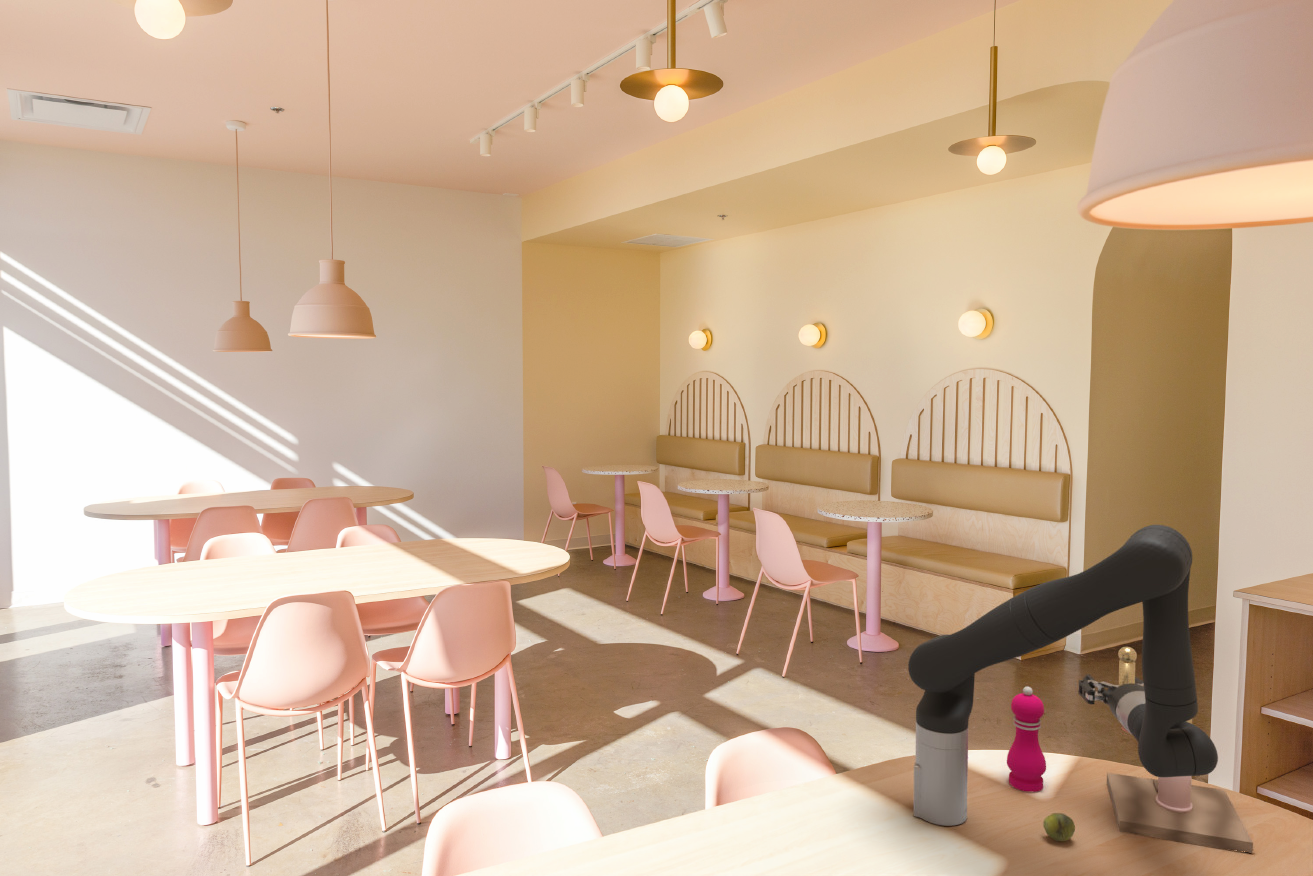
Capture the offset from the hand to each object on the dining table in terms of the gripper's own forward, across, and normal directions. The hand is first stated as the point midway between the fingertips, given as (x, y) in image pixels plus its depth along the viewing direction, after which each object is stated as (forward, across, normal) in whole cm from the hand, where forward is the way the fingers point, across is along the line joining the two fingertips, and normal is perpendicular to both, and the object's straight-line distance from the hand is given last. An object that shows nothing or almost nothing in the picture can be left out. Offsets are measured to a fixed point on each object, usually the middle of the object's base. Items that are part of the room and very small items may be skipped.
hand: (1110, 680), depth 165 cm
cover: (-8, -9, +20) cm, 23 cm away
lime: (-21, +14, +22) cm, 34 cm away
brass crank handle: (-4, -6, +18) cm, 20 cm away
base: (-8, -9, +22) cm, 25 cm away
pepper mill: (-1, +15, +22) cm, 27 cm away
